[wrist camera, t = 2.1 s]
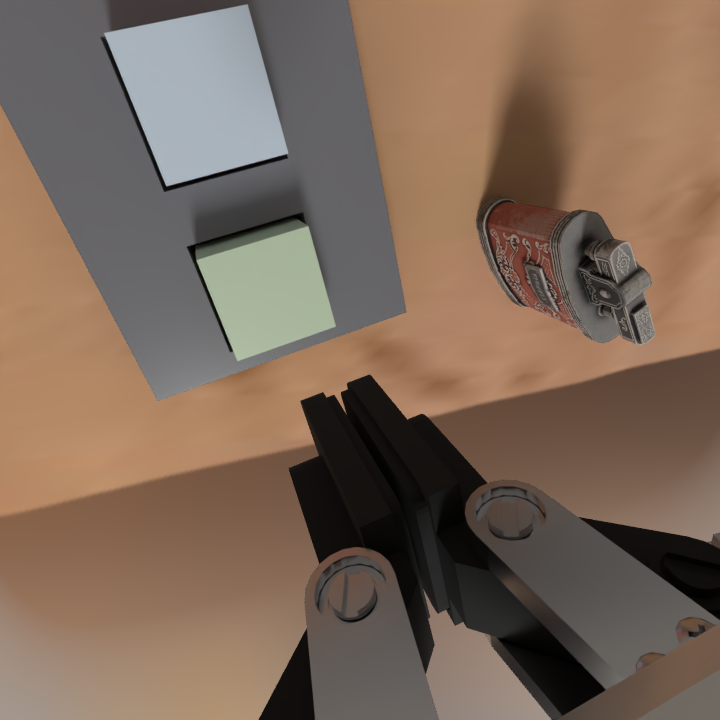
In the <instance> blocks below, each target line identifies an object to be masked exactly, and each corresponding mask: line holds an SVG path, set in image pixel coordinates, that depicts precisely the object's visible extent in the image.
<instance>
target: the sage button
mask: <svg viewBox="0 0 720 720" xmlns="http://www.w3.org/2000/svg"><path fill="white" fill-rule="evenodd" d="M195 250H196V260H197V263H198V265H199V268H200V270H201V273H202V275H203V278H204V280H205V283H206V285H207V287H208V290H209V292H210V295H211V297H212V300H213V302H214V305H215V307H216V310H217V312H218V315H219V317H220V319H221V322H222V324H223V327H224V329H225V332H226V334H227V337H228V339H229V342H230V344H231V347H232V349H233V351H234V354H235V356H236V359H237V361H240V360H243V359H245V358H248V357H251V356H254V355H257V354H260V353H262V352H265V351H268V350H271V349H274V348H277V347H279V346H282V345H285V344H288V343H291V342H294V341H296V340H299V339H302V338H305V337H308V336H311V335H313V334H316V333H319V332H322V331H325V330H328V329H330V328H333V327H336V325H335V321H334V318H333V314H332V310H331V307H330V303H329V299H328V296H327V292H326V288H325V285H324V281H323V278H322V274H321V270H320V267H319V263H318V259H317V256H316V252H315V248H314V245H313V241H312V237H311V234H310V230H309V227H308V225H306V224H304V223H303V222H301V221H300V220H298V219H296V218H295V217H293V216H292V217H289V218H286V219H282V220H279V221H276V222H272V223H269V224H266V225H262V226H259V227H255V228H252V229H249V230H245V231H242V232H239V233H235V234H232V235H229V236H225V237H222V238H219V239H215V240H212V241H208V242H205V243H202V244H198V245H195Z"/></svg>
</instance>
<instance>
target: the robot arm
mask: <svg viewBox="0 0 720 720" xmlns="http://www.w3.org/2000/svg"><path fill="white" fill-rule="evenodd" d="M347 387H348V390H345V391H343V392H341V396H342V400H343V403H344V407H345V410H346V413H347V415H346V413H345V412H344V410H343V408H342V407H341V405H340V403H339V402H338V400H337V398H336V397H335V395H332V396H330V397H327V398H326V396H325V394H324V393H323V392H322V393H320V394H317V395H315V396H312V397H309V398H307V399H304V400H301V405H302V408H303V411H304V414H305V417H306V419H307V422H308V425H309V428H310V431H311V434H312V437H313V440H314V443H315V445H316V448H317V451H318V454H319V456H318V457H315V458H313V459H310V460H308V461H305V462H303V463H300V464H298V465H296V466H293V467H291V468H289V472H290V475H291V477H292V481H293V484H294V487H295V490H296V493H297V496H298V499H299V503H300V506H301V509H302V512H303V515H304V518H305V521H306V524H307V527H308V530H309V533H310V536H311V540H312V543H313V546H314V549H315V552H316V555H317V558H318V561H319V565H318V567H317V568H316V569H315V571H314V572H313V573H312V575H311V576H310V579H309V581H308V584H307V586H306V590H305V612H306V623H307V629H306V631H305V632H304V634H303V636H302V638H301V640H300V642H299V644H298V646H297V648H296V650H295V651H294V653H293V655H292V657H291V659H290V661H289V663H288V665H287V667H286V669H285V671H284V672H283V674H282V676H281V678H280V680H279V682H278V684H277V686H276V688H275V689H274V691H273V693H272V695H271V697H270V699H269V701H268V703H267V705H266V707H265V708H264V711H263V712H262V715H261V716H260V718H259V720H439V718H438V715H437V711H436V708H435V705H434V702H433V698H432V695H431V691H430V688H429V685H428V682H427V678H426V671H427V668H428V665H429V661H430V658H431V655H432V651H433V648H434V641H433V637H432V633H431V629H430V625H429V621H428V619H429V618H430V615H429V611H428V607H427V603H426V599H425V595H424V591H425V592H426V594H427V596H428V598H429V600H430V602H431V604H432V605H433V607H434V609H435V610H436V612H437V613H440V612H442V611H444V610H447V612H448V614H449V616H450V618H451V619H452V621H453V623H454V625H458V624H459V623H461V622H464V624H465V625H466V627H467V628H469V629H473V630H476V631H479V632H482V633H485V636H486V638H487V639H488V641H489V643H490V644H491V646H492V647H493V649H494V650H495V651H496V652H497V653H498V655H499V656H500V657H501V658H502V660H503V661H504V662H505V663H506V665H507V666H508V667H509V668H510V669H511V671H512V672H513V673H514V674H515V676H516V677H517V678H518V679H519V680H520V682H521V683H522V684H523V685H524V686H525V688H526V689H527V690H528V691H529V693H530V694H531V695H532V696H533V698H534V699H535V700H536V701H537V702H538V704H539V705H540V706H541V707H542V709H543V710H544V711H545V712H546V713H547V715H548V716H549V717H550V718H551V719H552V720H720V533H717V534H713V538H712V541H710V542H705V541H701V540H698V539H694V538H691V537H687V536H681V535H676V534H670V533H665V532H659V531H653V530H648V529H642V528H636V527H631V526H625V525H620V524H614V523H608V522H603V521H597V520H592V519H586V518H581V517H577V516H576V515H575V514H573V513H572V512H570V511H569V510H568V509H566V508H565V507H564V506H562V505H561V504H560V503H558V502H557V501H555V500H554V499H553V498H551V497H550V496H549V495H547V494H546V493H544V492H543V491H542V490H540V489H538V488H536V487H535V486H533V485H531V484H528V483H525V482H521V481H517V480H499V481H493V482H489V483H487V482H486V481H485V480H484V479H483V478H482V477H481V476H480V475H479V474H478V472H477V471H476V470H475V469H474V468H473V467H472V466H471V465H470V463H469V462H468V461H467V460H466V459H465V458H464V457H463V456H462V455H461V454H460V452H459V451H458V450H457V449H456V448H455V447H454V446H453V445H452V444H451V443H450V441H449V440H448V439H447V438H446V437H445V436H444V435H443V434H442V433H441V431H440V430H439V429H438V428H437V427H436V426H435V425H434V424H433V423H432V421H431V420H430V419H429V418H428V417H427V416H425V415H424V414H420V415H417V416H415V417H413V418H410V419H408V420H407V419H406V417H405V416H404V415H403V414H402V413H401V411H400V410H399V409H398V408H397V406H396V405H395V404H394V403H393V402H392V400H391V399H390V398H389V397H388V396H387V394H386V393H385V392H384V391H383V389H382V388H381V387H380V386H379V385H378V383H377V382H376V381H375V380H374V379H373V377H372V376H371V375H367V376H364V377H362V378H359V379H356V380H354V381H351V382H349V383H347ZM423 589H424V590H423Z"/></svg>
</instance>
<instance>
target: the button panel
mask: <svg viewBox="0 0 720 720" xmlns="http://www.w3.org/2000/svg"><path fill="white" fill-rule="evenodd" d="M247 4H248V8H249V11H250V15H251V19H252V22H253V26H254V30H255V33H256V37H257V41H258V44H259V48H260V52H261V55H262V59H263V62H264V66H265V70H266V73H267V77H268V81H269V84H270V88H271V92H272V95H273V99H274V103H275V106H276V110H277V114H278V117H279V121H280V124H281V128H282V132H283V135H284V139H285V143H286V146H287V150H288V154H285V155H281V156H277V158H273V159H270V160H266V161H262V162H258V163H255V164H251V165H247V166H244V167H240V168H236V169H232V170H229V171H225V172H221V173H218V174H214V175H210V176H207V177H203V178H199V179H195V180H192V181H188V182H184V183H181V184H177V185H173V186H169V187H167V186H166V184H165V182H164V179H163V177H162V174H161V172H160V169H159V167H158V165H157V162H156V160H155V157H154V155H153V152H152V150H151V147H150V145H149V142H148V140H147V137H146V135H145V133H144V130H143V128H142V125H141V123H140V120H139V118H138V115H137V113H136V110H135V108H134V106H133V103H132V101H131V98H130V96H129V93H128V91H127V88H126V86H125V83H124V81H123V78H122V76H121V74H120V71H119V69H118V66H117V64H116V61H115V59H114V56H113V54H112V51H111V49H110V46H109V44H108V42H107V39H106V37H105V34H104V33H107V32H112V31H117V30H122V29H127V28H132V27H137V26H142V25H147V24H152V23H157V22H162V21H167V20H172V19H177V18H182V17H187V16H192V15H197V14H202V13H207V12H212V11H217V10H222V9H227V8H232V7H237V6H242V5H247ZM0 104H1V106H2V108H3V110H4V112H5V114H6V116H7V118H8V120H9V121H10V123H11V125H12V127H13V129H14V131H15V133H16V135H17V137H18V138H19V140H20V142H21V144H22V146H23V148H24V150H25V152H26V154H27V155H28V157H29V159H30V161H31V163H32V165H33V167H34V169H35V171H36V172H37V174H38V176H39V178H40V180H41V182H42V184H43V186H44V187H45V189H46V191H47V193H48V195H49V197H50V199H51V201H52V203H53V204H54V206H55V208H56V210H57V212H58V214H59V216H60V218H61V220H62V221H63V223H64V225H65V227H66V229H67V231H68V233H69V235H70V237H71V238H72V240H73V242H74V244H75V246H76V248H77V250H78V252H79V253H80V255H81V257H82V259H83V261H84V263H85V265H86V267H87V269H88V270H89V272H90V274H91V276H92V278H93V280H94V282H95V284H96V286H97V287H98V289H99V291H100V293H101V295H102V297H103V299H104V301H105V303H106V304H107V306H108V308H109V310H110V312H111V314H112V316H113V318H114V320H115V321H116V323H117V325H118V327H119V329H120V331H121V333H122V335H123V336H124V338H125V340H126V342H127V344H128V346H129V348H130V350H131V352H132V353H133V355H134V357H135V359H136V361H137V363H138V365H139V367H140V369H141V370H142V372H143V374H144V376H145V378H146V380H147V382H148V384H149V386H150V387H151V389H152V391H153V393H154V395H155V397H156V399H157V401H160V400H162V399H165V398H168V397H171V396H174V395H176V394H179V393H182V392H185V391H188V390H190V389H193V388H196V387H199V386H201V385H204V384H207V383H210V382H213V381H215V380H218V379H221V378H224V377H227V376H229V375H232V374H235V373H238V372H241V371H243V370H246V369H249V368H252V367H255V366H257V365H260V364H263V363H266V362H269V361H271V360H274V359H277V358H280V357H283V356H285V355H288V354H291V353H294V352H297V351H299V350H302V349H305V348H308V347H311V346H313V345H316V344H319V343H322V342H325V341H327V340H330V339H333V338H336V337H339V336H341V335H344V334H347V333H350V332H352V331H355V330H358V329H361V328H364V327H366V326H369V325H372V324H375V323H378V322H380V321H383V320H386V319H389V318H392V317H394V316H397V315H400V314H403V313H406V307H405V301H404V296H403V291H402V285H401V280H400V275H399V269H398V264H397V259H396V253H395V248H394V243H393V238H392V232H391V227H390V222H389V216H388V211H387V206H386V200H385V195H384V190H383V184H382V179H381V174H380V168H379V163H378V158H377V152H376V147H375V142H374V137H373V131H372V126H371V121H370V115H369V110H368V105H367V99H366V94H365V89H364V83H363V78H362V73H361V67H360V62H359V57H358V52H357V46H356V41H355V36H354V30H353V25H352V20H351V14H350V9H349V4H348V0H0ZM291 215H294V217H295V218H296V219H298V220H300V221H301V222H303V223H304V224H306V225H308V227H309V230H310V234H311V237H312V241H313V245H314V248H315V252H316V256H317V259H318V263H319V267H320V270H321V274H322V278H323V281H324V285H325V288H326V292H327V296H328V299H329V303H330V307H331V310H332V314H333V318H334V321H335V325H336V327H333V328H330V329H328V330H325V331H322V332H319V333H316V334H313V335H311V336H308V337H305V338H302V339H299V340H296V341H294V342H291V343H288V344H285V345H282V346H279V347H277V348H274V349H271V350H268V351H265V352H262V353H260V354H257V355H254V356H251V357H248V358H245V359H243V360H240V361H237V359H236V356H235V354H234V351H233V349H232V347H231V344H230V342H229V339H228V337H227V334H226V332H225V329H224V327H223V324H222V322H221V319H220V317H219V315H218V312H217V310H216V307H215V305H214V302H213V300H212V297H211V295H210V292H209V290H208V287H207V285H206V283H205V280H204V278H203V275H202V273H201V270H200V268H199V265H198V263H197V260H196V258H195V255H194V253H193V250H192V248H191V246H190V245H193V244H197V243H200V242H204V241H207V240H210V239H214V238H217V237H220V236H224V235H227V234H230V233H234V232H237V231H241V230H244V229H247V228H251V227H254V226H257V225H261V224H264V223H268V222H271V221H274V220H278V219H281V218H284V217H288V216H291Z"/></svg>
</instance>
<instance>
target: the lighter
mask: <svg viewBox="0 0 720 720" xmlns="http://www.w3.org/2000/svg"><path fill="white" fill-rule="evenodd" d="M476 227H477V231H478V235H479V239H480V243H481V247H482V250H483V253H484V255H485V258H486V260H487V263H488V265H489V268H490V270H491V272H492V274H493V275H494V277H495V279H496V280H497V282H498V284H499V285H500V287H501V288H502V290H503V291H504V292H505V293H506V295H507V296H508V297H509V298H510V299H511V301H512V302H514V303H515V304H517V305H519V306H521V307H524V308H530V307H531V308H533V309H535V310H537V311H539V312H541V313H544V314H546V315H548V316H550V317H552V318H554V319H557V320H559V321H561V322H563V323H565V324H567V325H570V326H572V327H574V328H576V329H578V330H580V331H582V333H583V334H584V335H585V336H586V337H587V338H589V339H591V340H594V341H596V342H598V343H605V342H609V341H611V340H612V339H614V338H616V337H617V336H618V335H619V334H620V336H621V337H622V338H623V339H625V340H628V341H630V342H632V343H634V344H637V345H643V344H646V343H647V342H649V341H650V340H651V339H652V338H653V337H654V336H655V329H654V326H653V322H652V318H651V315H650V311H649V308H648V304H647V301H646V298H645V294H644V291H645V290H646V289H647V288H649V287H650V286H651V284H652V282H651V278H650V275H649V274H648V272H647V271H646V270H645V269H644V268H642V267H641V266H640V265H639V264H638V263H637V262H636V261H635V258H634V254H633V251H632V247H631V245H630V243H628V242H626V241H621V240H616V239H614V238H613V236H612V234H611V233H610V231H609V229H608V227H607V226H606V224H605V222H604V220H603V218H602V217H601V216H600V215H599V214H598V213H596V212H592V211H586V210H575V211H572V212H566V211H560V210H554V209H548V208H542V207H536V206H530V205H524V204H518V203H516V202H515V201H514V200H512V199H508V198H501V197H498V198H493V199H491V200H489V201H488V202H486V203H485V204H484V205H483V207H482V208H481V209H480V211H479V213H478V216H477V219H476Z"/></svg>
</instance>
